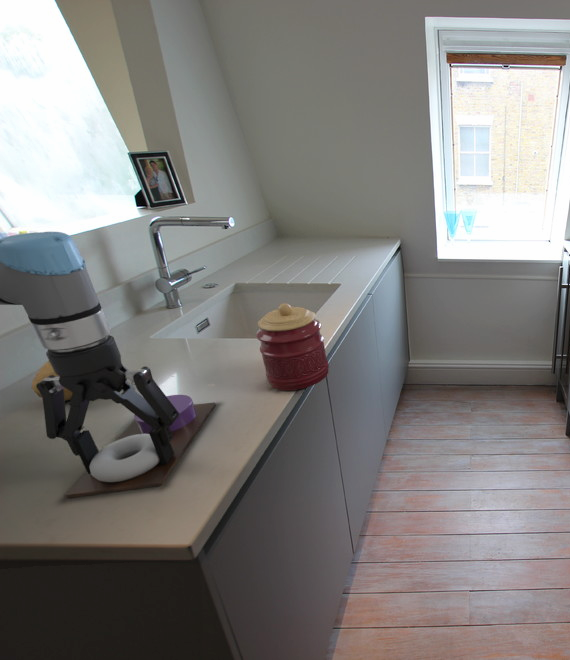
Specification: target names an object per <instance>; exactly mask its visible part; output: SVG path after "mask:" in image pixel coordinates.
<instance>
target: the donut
mask: <svg viewBox="0 0 570 660" xmlns="http://www.w3.org/2000/svg"><path fill="white" fill-rule="evenodd" d="M116 440H117V439H116ZM116 440H114V441H113V442H111V443H109V444H107V445H106V446H105V447H103V448H101V449H100V450H98V451H99V452H98V453H97V454H96V455H95V456H94V457H93V459H92V461H91V463H90V466H89V468H90V472H91V475H92V476H93V477H94V478H96V479H97V480H99V481H103V482H120V481H124V480H128V479H132V478H134V477H137V476H139V475H142V474H144V473H145V472H147V471H149V470H150V469H152V468H153V467H154V466H156V465H157V464H158V463H159V462H160V459H159V457H158V454H157V452H156V449H155V447H154V444H153V442H152V439H151V437H150V434H137V435H133V436H128V437H125V438H122V439H120V440H117V441H116ZM130 456H131V457H130Z"/></svg>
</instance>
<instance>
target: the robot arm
mask: <svg viewBox="0 0 570 660" xmlns="http://www.w3.org/2000/svg"><path fill="white" fill-rule="evenodd" d="M0 305H1V306H22V307H23V309H24V311H25V312H26V314H27V317H28V320H29V322H30V323H31V325H32V327H33V329H34V331H35V333H36V336H37V338H38V341H39V342H40V344H41V346H42V347H43V349H46V352H45V355H46V357H47V360H48V361H49V362H50V364H51V366H52V368H53V370H54V372H55V373H56V374H57V375H59V377H56V376H54V375H49V376H48V377H47V378H45V379H44V380H42V381H41V382H39V383H38V384H37V385H36V387H37V389H38V390H39V392H40V394H41V395H42V397H43V398H42V406H43V413H44V423H45V432H46V437H47V438H48V439H51V440H55V439H56V438H60V439H62V440H63V441H66V442H67V444H68V446H69V449H70V450H71V452H72V454H73V455H74V456H78V457H79V458H80V460H81V462H82V465H83V466H84V468H85V470H86V472H88V474H91V472H90V468H89V466H90V463H91V461H92V459H93V457H94V456H95V455H96V454H97V453H98V452H99V451H100V450H99V449H98V446H97V445H96V442H95V441H94V438H93V436H92V434H91V432H90V430H89V429H86V430H83V429H84V428H85V426H84V423H85V418H86V415H87V413H88V408H89V406H90V402H94V401H98V400H111V401H113V402H114V403H115V404H120V405H122V406H123V407H125V409H127V410H128V411H129V412H131V413H132V414H133V415H136V416H137V417H139V418H140V419H141V420H142V421H144V422H145V423H146V424H148V425H149V426H150V427H151V428H152V429H151V431H150V432H149V434H150V437H151V439H152V442H153V444H154V447H155V449H156V452H157V454H158V457H159V459H160V462H161V464H162V465H165V464H167V463H168V462H169V461H170V459H171V458H172V456H173V455H174V451H173V449H172V446H171V443H170V442H171V441H172V440H173V435H172V432H171V429H170V427H169V426H171V425H172V424H173V423H174V422H175V420H176V419H177V418H178V416H179V412H178V411H177V410H176V408H175V407H174V406H173V405H172V403H171V402H170V401H169V399H168V398H167V397H166V396H167V395H166V394H165V393H164V391H163V390H162V389H161V387H160V386H159V385H158V384H157V382H156V381H155V379H154V378H153V374H152V371H151V368H150V367H149V366H142V367H141V368H139V369H128V368H127V367H125V366H124V364H123V363H122V355H121V351H120V350H119V347H118V344H117V342H116V340H115V337H114V336H113V335H111V333H112V329H111V326H110V324H109V322H108V320H107V317H106V314H105V313H104V310H103V307H102V305H101V303H100V300H99V298H98V295H97V293H96V290H95V287H94V285H93V282H92V280H91V277H90V275H89V272H88V270H87V266H86V260H85V259H84V258H83V256H82V254H81V253H80V251H79V249H78V246H77V245H76V242H75V241H74V239H73V238H72V236H70V235H69V234H67V233H65V232H61V231H43V232H42V231H41V232H38V231H35V232H26V233H19V234H14V235H9V236H5V237H2V238H0ZM128 380H129V381H130V382H131V383H130V382H128ZM134 386H135V387H134ZM63 387H65V388H66V389H68V390H69V391H71V392H73V393H72V397H71V399H69V410H68V414H67V413H66V412H67V411H66V410H67V409H66V401H65V399H64V390H63ZM136 390H137V391H138V392H137V391H136ZM157 420H158V421H157Z"/></svg>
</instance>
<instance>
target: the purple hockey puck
mask: <svg viewBox="0 0 570 660" xmlns="http://www.w3.org/2000/svg"><path fill="white" fill-rule="evenodd" d="M166 397H167V398H168V399H169V401H170V402H171V403H172V405H173V406H174V407H175V408H176V410H177V411H178V412H179V416H178V418H177V419H176V420H175V422H174V423H173V424H172V425H171V426H169V427H170V429H171V432H172V431H175V430H177V429H180V428H182V427H184V426H185V425H187V424H188V423H190V422H191V421H192V420H193V419H194V418H195V416H196V410H195V407H194V405H195V404H194V400H193V398H192V397H191V396H190V395H186V394H171V395H166ZM133 417H134V418H133V419H134V420H136V423H137V425H138V428H139V430H140V432H141V433H143V434H149V432H150V431H151V429H152V428H151V427H150V426H149V425H148V424H146V423H145V422H144V421H142V420H141V419H140V418H139V417H137V416H136V415H135V414H133ZM157 421H158V420H157Z"/></svg>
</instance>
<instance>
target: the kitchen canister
mask: <svg viewBox="0 0 570 660" xmlns="http://www.w3.org/2000/svg"><path fill="white" fill-rule="evenodd" d="M257 326H258V328H259V329H258V330H257V331H256V333H255V337H256V339H257V340H258V341H260V346H259V352H260V354H261V357H262V361H263V365H264V369H265V377H266V380H267V382H268V383H269V386H271V387H272V388H273V389H276V390H279V391H298V390H302V389H303V390H304V389H307V388H310V387H312V386H315V385H317V384H319V383H321V382H322V381H323V380H324V379H326V378H327V375H329V368H330V366H329V365H330V364H329V360H328V359H327V353H326V348H325V343H324V341H325V340H324V339H325V338H324V336H323V334H322V333H321V329H322V323H321V322H320V321H319V320H318V319H316V313H315V312H313V310H309V309H307V308H304V307H300V306H291V305H290V304H289V303H286V302H284V303H281V304H280V305H279V306H278V307H277V309H273V310H271V311H269V312H268V313H266V314H265V315H264V316H263V317H262V318H260V319H259V320H258V322H257Z"/></svg>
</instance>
